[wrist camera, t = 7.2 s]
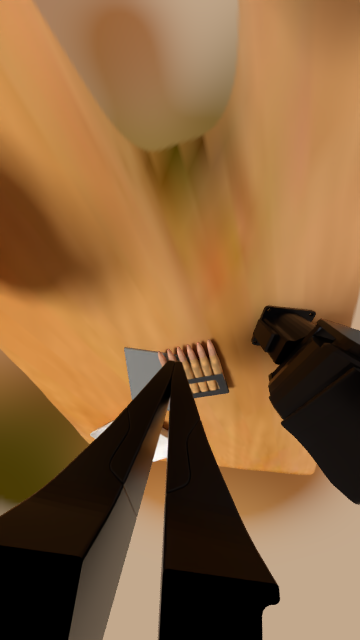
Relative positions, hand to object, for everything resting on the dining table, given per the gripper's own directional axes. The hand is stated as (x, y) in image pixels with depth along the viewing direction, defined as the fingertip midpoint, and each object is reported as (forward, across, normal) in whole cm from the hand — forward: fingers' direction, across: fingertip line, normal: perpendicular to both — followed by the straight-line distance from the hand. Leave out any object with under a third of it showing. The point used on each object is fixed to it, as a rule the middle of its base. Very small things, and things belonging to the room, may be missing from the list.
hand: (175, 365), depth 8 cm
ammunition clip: (+12, -5, +19) cm, 23 cm away
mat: (+13, +5, +20) cm, 24 cm away
